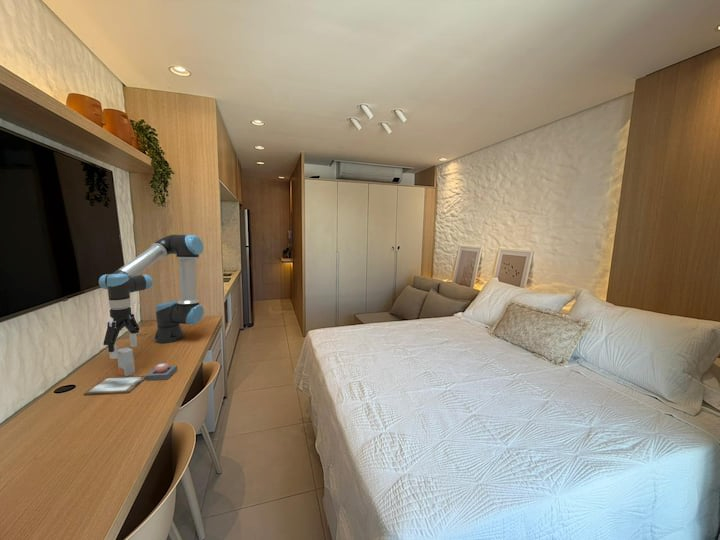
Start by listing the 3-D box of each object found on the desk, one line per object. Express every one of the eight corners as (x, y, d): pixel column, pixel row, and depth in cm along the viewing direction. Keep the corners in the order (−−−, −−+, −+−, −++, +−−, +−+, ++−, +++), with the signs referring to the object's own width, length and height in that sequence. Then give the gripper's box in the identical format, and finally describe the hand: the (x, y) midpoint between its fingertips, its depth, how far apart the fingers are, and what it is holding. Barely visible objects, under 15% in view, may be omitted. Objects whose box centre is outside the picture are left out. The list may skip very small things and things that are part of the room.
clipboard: (107, 379, 130) (107, 376, 130) (147, 377, 132) (147, 374, 132) (83, 395, 117) (83, 392, 117) (128, 393, 119) (128, 390, 119)
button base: (157, 370, 138) (157, 366, 138) (177, 370, 139) (176, 365, 139) (146, 380, 129) (145, 375, 129) (167, 379, 131) (167, 374, 130)
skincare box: (118, 374, 135) (115, 349, 133) (129, 370, 138) (126, 346, 137) (125, 377, 132) (122, 352, 130) (135, 373, 136) (133, 349, 134)
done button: (159, 368, 136) (158, 362, 136) (170, 368, 137) (169, 362, 136) (153, 374, 131) (152, 367, 131) (164, 373, 132) (164, 367, 132)
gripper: (129, 301, 142) (133, 342, 145) (89, 315, 118) (94, 364, 121) (145, 301, 143) (149, 341, 146) (109, 315, 119) (113, 363, 121)
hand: (124, 352), depth 133 cm, fingers open, 13 cm apart
